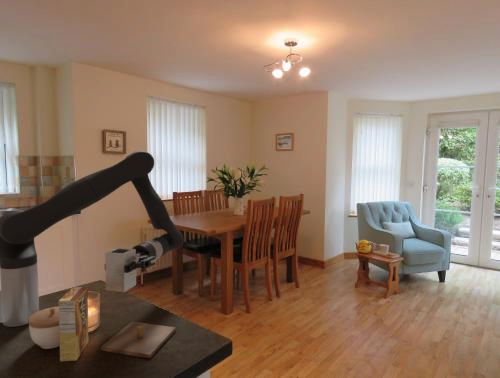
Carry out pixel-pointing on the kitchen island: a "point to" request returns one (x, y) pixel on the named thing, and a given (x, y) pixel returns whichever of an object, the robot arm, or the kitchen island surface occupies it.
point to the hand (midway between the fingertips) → (116, 268)
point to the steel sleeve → (119, 269)
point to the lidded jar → (45, 328)
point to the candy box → (73, 323)
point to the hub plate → (139, 339)
